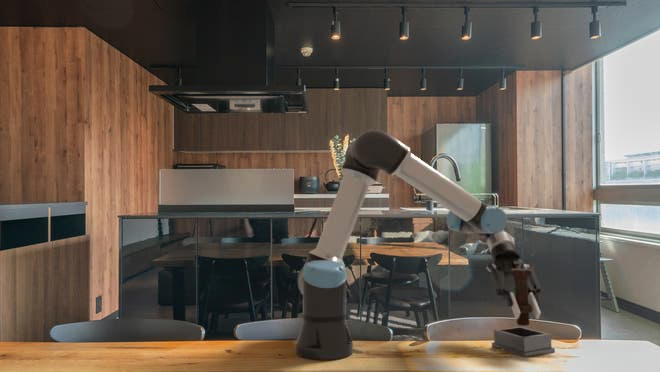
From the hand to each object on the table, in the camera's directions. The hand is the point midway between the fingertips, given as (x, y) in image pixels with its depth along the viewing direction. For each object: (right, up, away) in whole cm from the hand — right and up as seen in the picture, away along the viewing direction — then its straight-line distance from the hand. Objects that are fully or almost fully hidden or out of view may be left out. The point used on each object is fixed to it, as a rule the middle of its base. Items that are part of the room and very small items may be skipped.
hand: (528, 315), depth 110 cm
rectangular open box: (0, -10, +3) cm, 10 cm away
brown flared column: (0, -4, +3) cm, 5 cm away
